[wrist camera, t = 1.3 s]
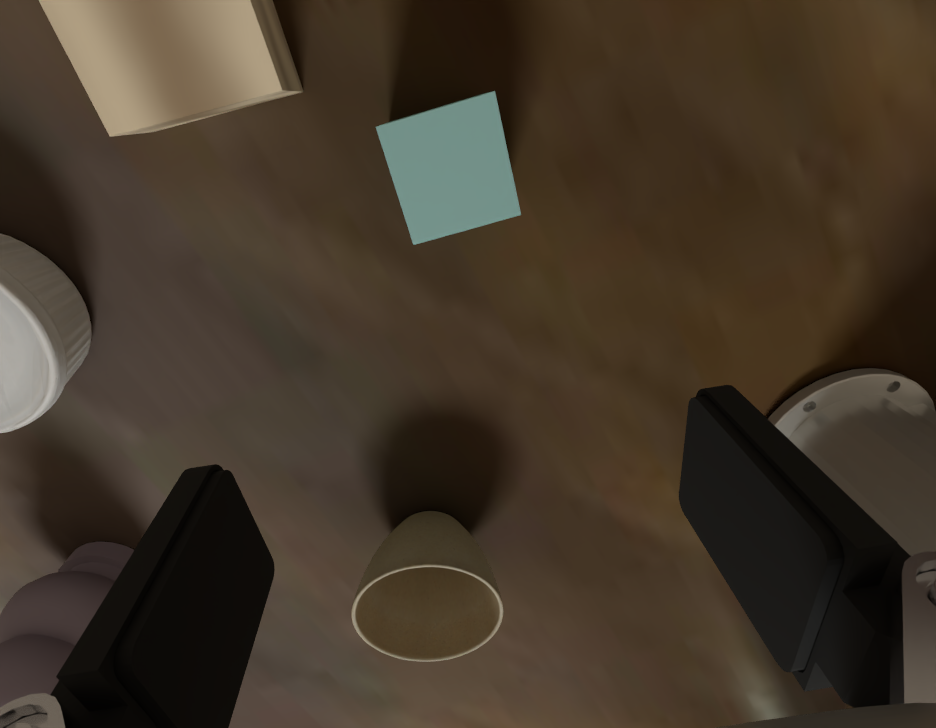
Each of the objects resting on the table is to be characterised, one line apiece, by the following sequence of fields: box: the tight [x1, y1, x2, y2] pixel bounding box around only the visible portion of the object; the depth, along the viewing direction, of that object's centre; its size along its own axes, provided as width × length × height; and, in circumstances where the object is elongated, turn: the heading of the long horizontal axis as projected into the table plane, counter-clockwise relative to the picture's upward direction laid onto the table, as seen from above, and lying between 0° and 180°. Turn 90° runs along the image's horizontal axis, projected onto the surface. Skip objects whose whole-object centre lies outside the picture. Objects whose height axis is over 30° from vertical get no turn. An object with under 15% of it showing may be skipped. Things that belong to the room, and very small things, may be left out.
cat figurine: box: [0, 542, 134, 707], centre depth 34 cm, size 9×8×12 cm
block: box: [376, 91, 521, 245], centre depth 24 cm, size 5×5×6 cm
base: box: [39, 0, 304, 137], centre depth 22 cm, size 8×8×4 cm
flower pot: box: [352, 511, 503, 662], centre depth 36 cm, size 10×10×7 cm
